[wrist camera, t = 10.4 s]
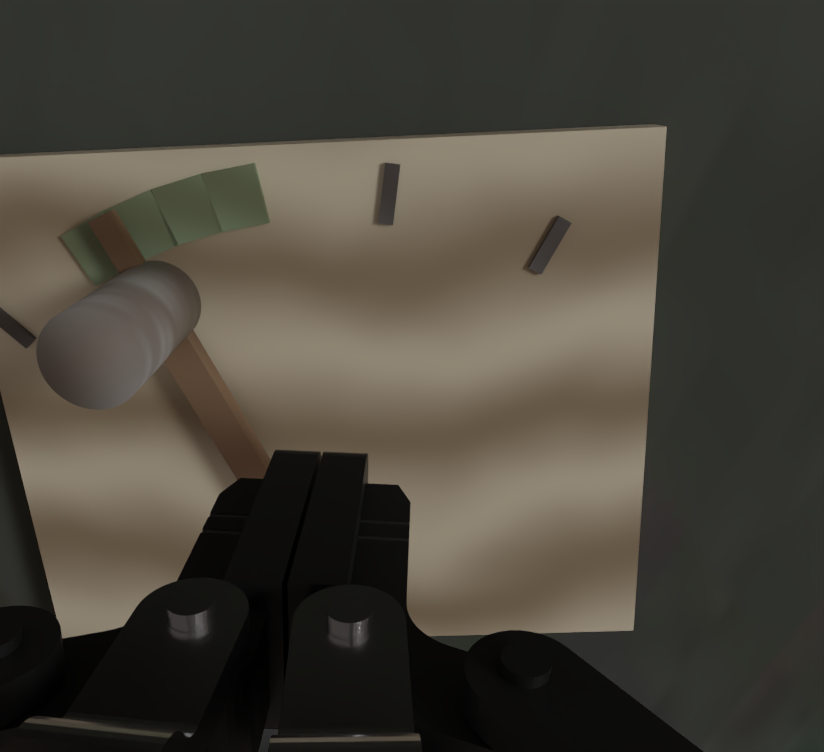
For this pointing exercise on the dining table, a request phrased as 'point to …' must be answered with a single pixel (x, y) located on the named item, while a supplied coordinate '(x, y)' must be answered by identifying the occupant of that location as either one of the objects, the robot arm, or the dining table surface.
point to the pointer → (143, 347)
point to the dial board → (359, 356)
